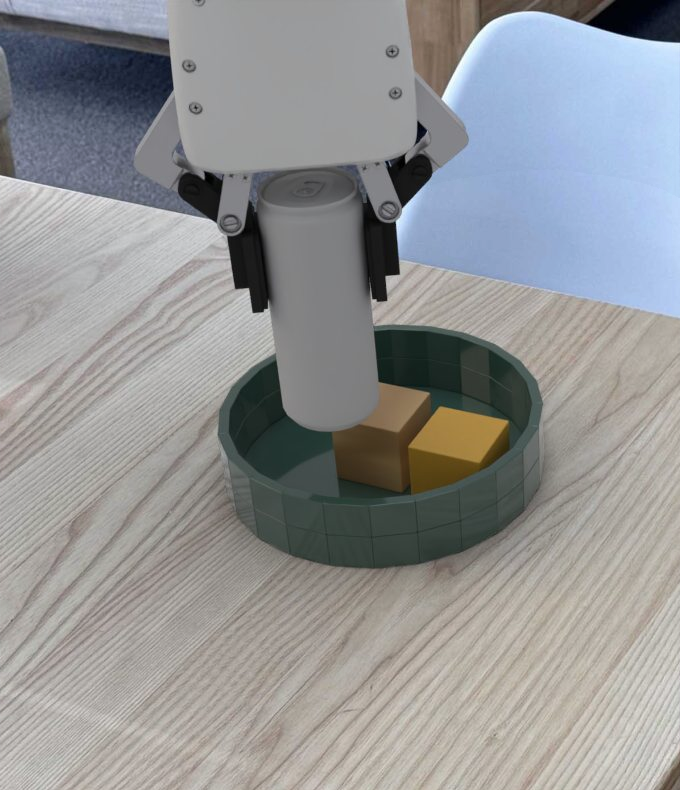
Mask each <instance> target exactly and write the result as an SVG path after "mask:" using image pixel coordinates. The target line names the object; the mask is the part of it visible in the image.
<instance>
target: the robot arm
mask: <svg viewBox="0 0 680 790" xmlns="http://www.w3.org/2000/svg"><path fill="white" fill-rule="evenodd" d="M406 2H407V1H406V0H166V17H167V32H168V42H169V55H170V64H171V67H170V68H171V76H172V84H173V90H172V91H171V93H170V94H169V96H168V97H167V100H166V101H165V102H164V104H163V106H162V107H161V109H160V110H159V112H158V114H157V115H156V117H155V118H154V120H153V122H152V123H151V125H150V127H149V128H148V130H147V131H146V133H145V134H144V135H143V138H142V139H141V141H140V142H139V144H138V145H137V147H136V149H135V153H134V158H133V164H132V165H133V168H134V170H135V172H137V173H138V174H139V175H141V176H143V177H145V178H147V179H148V180H151V181H152V182H154V183H155V184H157V185H160V186H161V187H163V188H165V189H166V190H168V191H173V192H174V193H176V194H178V195H179V197H180V199H182V200H183V201H184V202H186V203H187V204H188V205H190V206H191V207H193V208H194V209H195V210H197V211H198V212H199V213H201V214H202V215H204V216H205V217H206V218H208V219H210V220H211V221H212V222H214V223H215V224H216V227H217V229H218V231H219V232H220V233H221V234H223V235H224V236H226V239H227V240H226V241H227V246H228V253H229V259H230V266H231V273H232V280H233V285H234V286H233V287H234V289H235V290H246V289H248V292H249V298H250V305H251V313H252V314H261V313H262V314H263V313H265V310H268V309H269V300H268V293H267V286H266V278H265V271H264V264H263V256H262V249H261V242H260V234H259V227H258V220H257V213H256V208H255V206H254V205H253V204H254V203H253V202H252V201H251V200H250V195H251V188H252V183H253V179H254V178H253V176H254V174H255V173H257V174H258V173H270V172H280V171H285V170H297V169H310V168H322V167H344V166H345V167H346V166H355V167H356V169H357V171H358V174H359V177H360V179H361V181H362V184H363V187H364V189H365V191H366V193H365V195H366V197H365V199H366V202H363V205H364V216H365V217H364V220H365V231H366V242H367V253H368V265H369V278H370V292H371V301H373V300H376V303H383V302H388V289H387V288H388V287H387V278H386V277H391V276H393V277H394V276H400V275H401V268H400V267H401V266H400V256H399V255H400V254H399V242H398V231H397V230H398V229H397V221H398V220H399V219H400V218H401V216H402V214H403V209H404V208H405V206H407V204H409V203H410V201H411V200H412V199H413V198H414V197H415V196H416V195H417V194H418V193H419V192H420V191H421V190H422V189H423V188H424V186H425V185H426V184H428V182H429V181H430V180H431V179H432V176H433V174H434V173H435V172H436V171H437V170H439V169H442V168H443V167H444V166H445V165H446V164H448V162H450V161H452V159H454V158H455V157H456V156H457V155H458V154H459V153H461V152H462V151H463V150H465V148H466V147H467V146H468V145H469V141H470V137H469V133H468V129H467V127H466V124H465V122H464V121H463V120H462V119H461V118H460V117H459V116H458V115H457V114H456V113H455V112H454V111H453V110H452V109H451V107H450V106H449V105H448V104H447V103H446V102H445V101H444V100H443V99H442V98H441V97H440V96H439V94H437V92H435V90H434V89H433V88H432V87H431V86H430V85H429V84H428V83H427V82H426V81H425V80H424V78H422V76H421V75H419V74H420V73H418V72H417V71H416V70H415V69H414V61H413V49H412V39H411V33H410V25H409V18H408V11H407V3H406ZM418 122H419V124H420V125H421V126H422V127H423V128H424V130H426V131H427V132H426V133H425V134H424V136H422V138H420V140H419V142H418V143H416V141H417V136H418ZM180 143H181V145H182V148H183V149H182V150H183V152H184V156H185V157H184V156H183V155H182V154H181V155H180V154H179V153H178V152H177V151H176V149H177V147H178V145H179V144H180ZM394 159H396V160H395V161H394V162H393V163H392V164H391V162H390V161H391V160H394ZM215 174H219V175H221V178H219V177H218V176H217V175H215Z"/></svg>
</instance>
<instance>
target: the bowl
mask: <svg viewBox="0 0 680 790" xmlns="http://www.w3.org/2000/svg"><path fill="white" fill-rule="evenodd" d="M373 328H374V339H375V350H376V361H377V372H378V382H380V383H385V384H390V385H395V386H400V387H404V388H409V389H414V390H419V391H424V392H429V393H430V399H431V415H432V416H433V415H434V413H435V412H436V411H437V410H438V408H439V407H446V408H450V409H455V410H460V411H465V412H469V413H474V414H479V415H484V416H488V417H493V418H498V419H503V420H507V421H509V444H510V450H509V451H508V452H507V453H505V454H504V455H503V456H502V457H500V458H499V459H498V460H497V461H495V462H494V463H493V464H491V465H490V466H489V467H487V468H485V469H483V470H481V471H479V472H477V473H475V474H473V475H470V476H468V477H466V478H464V479H462V480H460V481H458V482H456V483H454V484H451V485H447V486H444V487H440V488H436V489H433V490H429V491H425V492H421V493H418V494H414V495H412V492H411V483H410V485H409V486H408V487H407V488H406V490H405V491H404V492H403V493H401V492H396V491H392V490H388V489H383V488H379V487H375V486H371V485H366V484H362V483H358V482H354V481H349V480H345V479H341V478H338V477H337V471H336V462H335V454H334V445H333V436H332V432H324V431H315V430H310V429H307V428H305V427H303V426H301V425H299V424H298V423H296V422H295V421H294V420H293V419H292V418H290V417H289V416H288V415H287V413H286V412H285V410H284V408H283V403H282V395H281V388H280V381H279V373H278V366H277V359H276V352H274V353H273V354H271V355H269V356H268V357H266V358H264V359H263V360H260V362H257V363H256V364H255V365H253V366H251V367H250V368H249V369H248V371H246V372H245V373H244V374H243V375H242V376H241V377H240V378H239V379H238V380H237V381H236V382H235V383H234V384H232V386H231V387H230V389H229V390H228V392H227V394H226V396H225V398H224V400H223V401H222V404H221V406H220V408H219V410H218V420H217V434H216V435H217V440H218V447H219V452H220V459H221V464H222V470H223V475H224V482H225V483H224V484H225V487H226V493H227V496H228V498H229V501H230V503H231V506H232V508H233V511H234V513H235V515H236V517H237V518H238V519H239V520H240V521H241V522H242V524H244V526H245V527H246V528H247V530H248V531H250V532H251V533H252V534H254V535H255V536H256V537H257V538H258V539H259V540H261V541H263V542H265V543H267V544H268V545H269V546H271V547H273V548H275V549H277V550H279V551H282V552H283V553H286V554H288V555H291V556H293V557H296V558H300V559H302V560H305V561H309V562H313V563H317V564H323V565H328V566H335V567H345V568H352V569H353V568H354V569H361V568H362V569H381V568H396V567H402V566H411V565H417V564H422V563H427V562H430V561H435V560H438V559H439V560H440V559H442V558H446V557H448V556H451V555H455V554H457V553H460V552H463V551H466V550H468V549H470V548H472V547H474V546H477V545H478V544H480V543H483V542H484V541H486V540H488V539H490V538H491V537H493V536H494V535H496V534H498V533H499V532H500V531H502V530H503V529H505V528H506V527H507V526H509V525H510V524H511V523H512V522H513V521H514V520H516V518H518V517H519V516H520V515H521V514H522V513H523V512H524V511H525V510H526V508H527V506H529V504H530V503H531V501H532V500H533V499H534V496H535V494H536V493H537V492H538V491H537V490H538V489H539V488H540V485H541V481H542V475H543V469H544V463H545V440H544V439H545V437H544V436H545V435H544V434H545V433H544V431H545V429H544V428H545V427H544V399H543V397H542V393H541V390H540V387H539V383H538V380H537V379H536V377H535V376H534V375H533V374H532V373H531V371H529V369H528V368H527V367H526V365H525V364H524V363H523V362H522V361H521V359H519V358H518V357H516V356H514V355H512V354H511V353H510V352H508V351H506V350H505V349H503V348H502V347H500V346H499V345H498V344H496V343H493V342H491V341H488V340H486V339H483V338H481V337H478V336H475V335H473V334H469V333H467V332H463V331H458V330H455V329H448V328H442V327H437V326H433V325H418V324H417V325H415V324H394V323H392V324H389V323H388V324H379V325H373Z"/></svg>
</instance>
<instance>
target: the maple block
mask: <svg viewBox="0 0 680 790" xmlns="http://www.w3.org/2000/svg"><path fill="white" fill-rule="evenodd" d="M378 383H379V394H380V398H379V403H378V406H377V407H376V409H375V410H374V411H373V413H372V414H371V415H370V416H369V417H368V418H367V419H366V420H365V421H363V422H362V423H360V424H358V425H356V426H354V427H352V428H348V429H345V430H341V431H332V436H333V445H334V454H335V462H336V471H337V477H338V478H341V479H345V480H349V481H354V482H358V483H362V484H366V485H371V486H375V487H379V488H383V489H388V490H392V491H396V492H401V493H403V492H404V491H405V490H406V488H407V487H408V486H409V485H410V483H411V479H410V466H409V453H408V446H409V445H410V444H411V442H412V441H413V440H414V439H415V437H416V436H417V435H418V434H419V432H420V431H421V430H422V428H423V427H424V426H425V425H426V423H427V422H428V421H429V420H430V418H431V417H432V415H431V399H430V393H429V392H424V391H419V390H414V389H409V388H404V387H400V386H395V385H390V384H385V383H380V382H378Z"/></svg>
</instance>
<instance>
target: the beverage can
mask: <svg viewBox="0 0 680 790" xmlns="http://www.w3.org/2000/svg"><path fill="white" fill-rule="evenodd" d="M359 188H360V185H359V179H358V177H356V175H354V173H352V172H350V171H348V170H346V169H343V168H339V167H337V166H334V167H322V168H310V169H297V170H285V171H276V172H275V173H272V174H271V175H269V176H267V177H265V178H264V179H263V180H262V181H260V183H259V184H258V186H257V188H256V196H257V198H258V199H257V200H256V204H255V212H256V213H257V220H258V227H259V234H260V242H261V249H262V256H263V264H264V271H265V278H266V286H267V293H268V309H269V315H270V322H271V328H272V329H271V330H272V336H273V343H274V344H273V345H274V350H275V353H276V359H277V366H278V373H279V381H280V388H281V395H282V403H283V408H284V410H285V412H286V413H287V415H288V416H289V417H290V418H292V419H293V420H294V421H295V422H296V423H298V424H299V425H301V426H303V427H305V428H307V429H310V430H315V431H324V432H332V431H341V430H345V429H348V428H352V427H354V426H356V425H358V424H360V423H362V422H363V421H365V420H366V419H367V418H368V417H369V416H370V415H371V414H372V413H373V411H374V410H375V409H376V407H377V406H378V403H379V398H380V394H379V383H378V372H377V361H376V350H375V339H374V328H373V326H374V319H373V317H374V316H373V306H372V295H371V286H370V278H369V265H368V253H367V242H366V231H365V220H364V217H365V216H364V205H363V203H364V198H363V193H362V191H361V190H360V189H359Z"/></svg>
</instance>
